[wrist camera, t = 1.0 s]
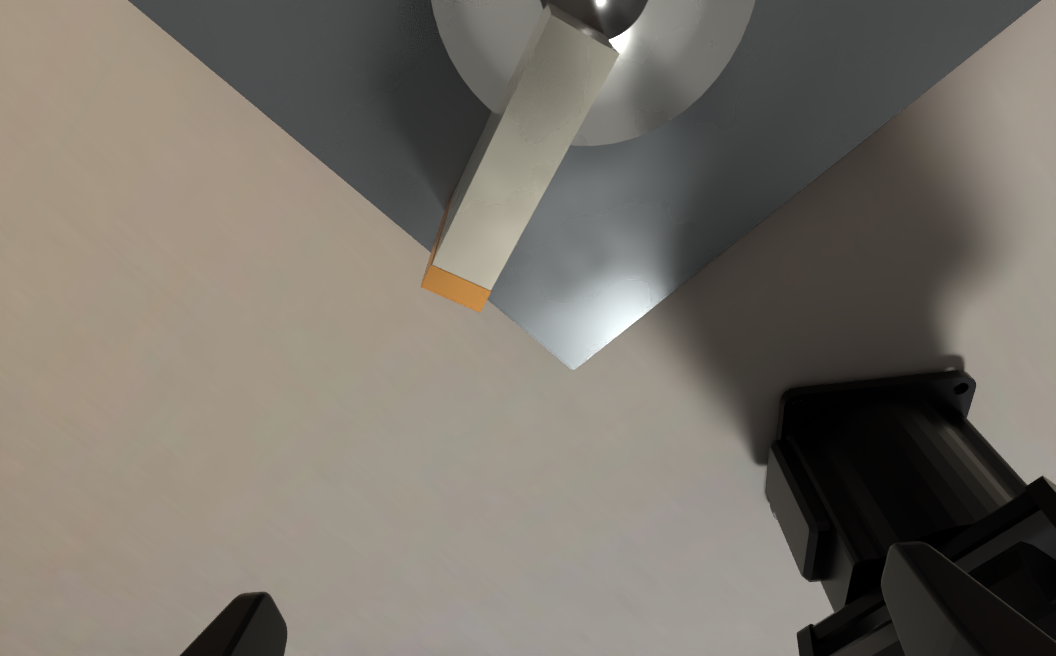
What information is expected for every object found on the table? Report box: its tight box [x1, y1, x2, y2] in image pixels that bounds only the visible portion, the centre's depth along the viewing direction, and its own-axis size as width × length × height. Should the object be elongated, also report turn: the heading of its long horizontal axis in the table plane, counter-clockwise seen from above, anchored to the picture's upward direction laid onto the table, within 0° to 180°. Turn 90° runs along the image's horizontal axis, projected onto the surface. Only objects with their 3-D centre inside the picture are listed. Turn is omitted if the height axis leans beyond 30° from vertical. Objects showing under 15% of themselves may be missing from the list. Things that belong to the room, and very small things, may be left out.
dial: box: [421, 0, 756, 312], centre depth 13 cm, size 10×7×4 cm
